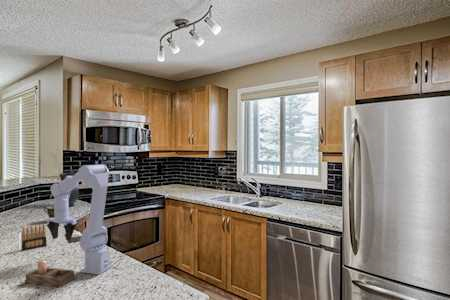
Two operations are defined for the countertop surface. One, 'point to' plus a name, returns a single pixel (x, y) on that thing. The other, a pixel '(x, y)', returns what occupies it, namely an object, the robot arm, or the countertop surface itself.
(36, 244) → the ammunition clip
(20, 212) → the countertop surface
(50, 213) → the ceramic cup
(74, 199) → the pitcher
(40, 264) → the clay rod
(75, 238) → the chocolate bar
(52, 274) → the rack
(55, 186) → the robot arm
